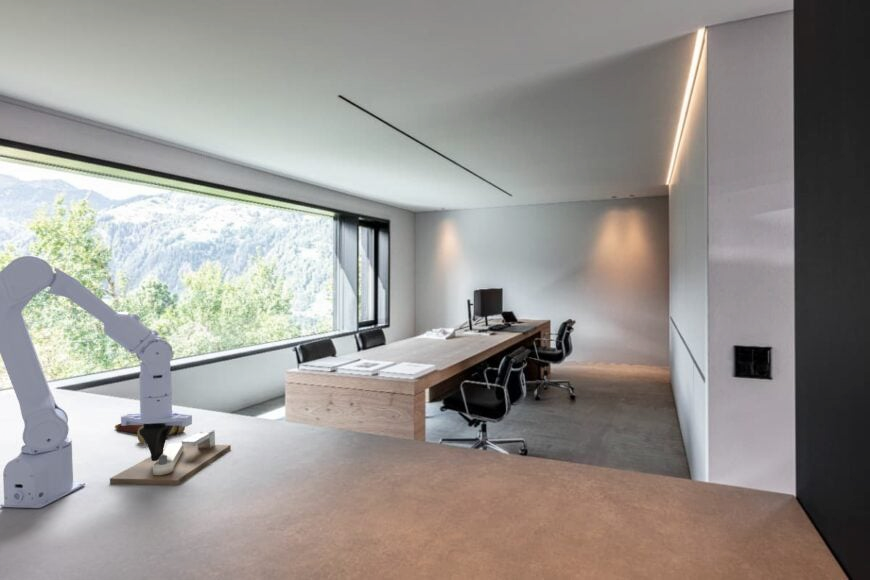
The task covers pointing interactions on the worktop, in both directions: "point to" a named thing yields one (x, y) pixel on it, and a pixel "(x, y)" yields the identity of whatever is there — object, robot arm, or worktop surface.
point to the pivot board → (183, 469)
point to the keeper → (201, 439)
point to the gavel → (136, 428)
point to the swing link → (168, 459)
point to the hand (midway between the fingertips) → (157, 459)
